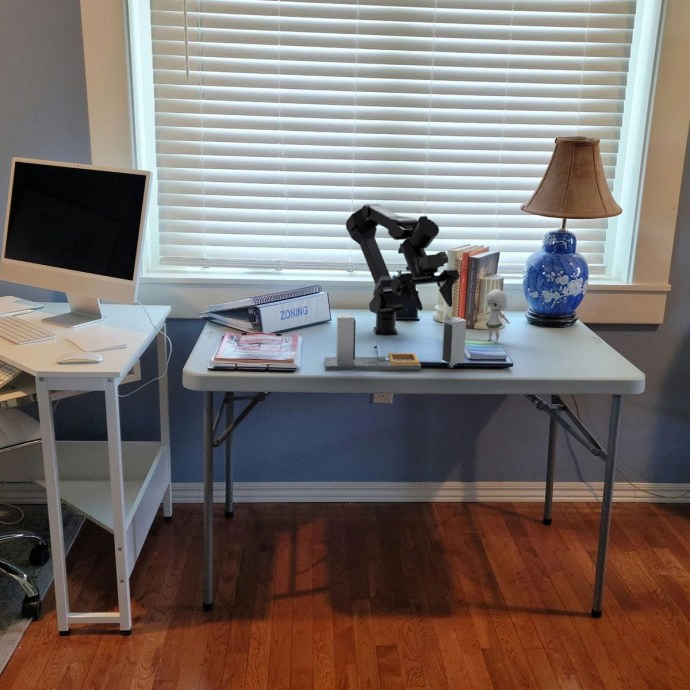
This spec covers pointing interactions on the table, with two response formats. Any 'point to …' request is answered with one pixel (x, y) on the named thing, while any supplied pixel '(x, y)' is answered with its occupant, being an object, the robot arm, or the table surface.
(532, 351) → the table surface
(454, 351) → the gray block
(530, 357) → the table surface
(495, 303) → the figurine
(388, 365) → the rail
